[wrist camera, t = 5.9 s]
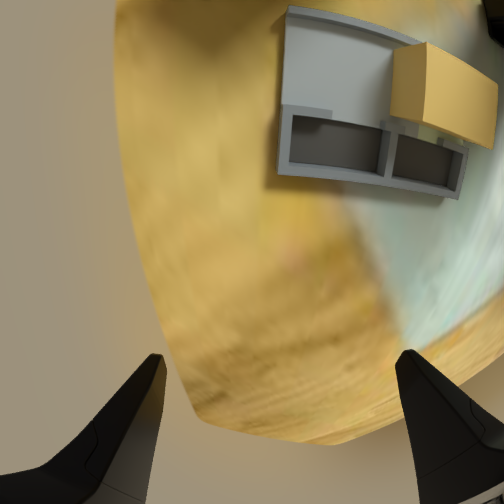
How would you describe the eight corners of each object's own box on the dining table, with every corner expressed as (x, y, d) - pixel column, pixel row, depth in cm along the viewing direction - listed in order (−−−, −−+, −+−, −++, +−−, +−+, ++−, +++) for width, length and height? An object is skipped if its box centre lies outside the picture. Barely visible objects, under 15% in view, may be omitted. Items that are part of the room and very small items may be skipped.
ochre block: (463, 81, 13) (498, 84, 9) (458, 138, 15) (492, 150, 12) (393, 49, 12) (426, 42, 9) (389, 115, 15) (422, 120, 11)
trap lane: (464, 70, 12) (475, 71, 11) (448, 194, 18) (458, 200, 17) (285, 12, 12) (288, 5, 11) (275, 169, 17) (277, 174, 16)
